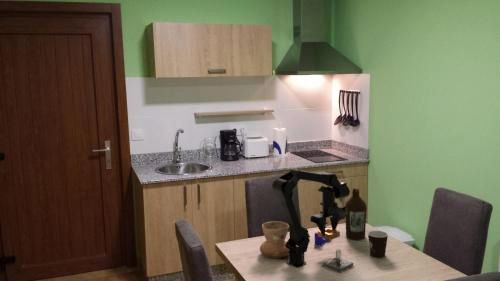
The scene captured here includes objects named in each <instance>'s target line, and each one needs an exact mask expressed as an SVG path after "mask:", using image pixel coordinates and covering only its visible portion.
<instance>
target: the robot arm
mask: <svg viewBox="0 0 500 281" xmlns="http://www.w3.org/2000/svg"><path fill="white" fill-rule="evenodd" d="M300 180H302V181H309V182H316V183H318V184H321V186H320V187H319V188H318V189H317V191H318V192H319V193H321V202H319V204H320V205H321V210H320V214H318V213H316V214H312V215H311V216H310V218H309V220H310V222H311V223H314V224H316V226H317V228H318V231H320V232H321V234H322V236H325V226H327V224H328V222H327V219H330V225H331V226H330V227H331V229H334V230H337V228H338V224H339V222H340V221H343V220H345V216H346V215H348V208H347V207H345V206H342V207H341V206H340V207H339V205H338V202H336V200H337V199H344V198H347V197H349V196H350V194H351V191H350V188H349V186H348V185H347V182H344V181H343V182H340V181H339V179H338V176H337V175H336V174H335V173H331V172H327V171H319V172H313V171H305V170H300V169H296V168H292V169H290V170H289V171H288V172H286V173H284V174H283V175H281V176H279V177H278V178H276V179H275V180H274V181H273V183H272V185H271V187H272V190H273V192H274V194H275V195H276V196H277V198H278V199H279V200H280V202H281V206H282V207H283V211H284V214H285V216H286V219H287V224H288V225H289V232H288V235H289V238H288V240H287V241H286V244H285V246H286V248H287V249H290V251H289V255H288V261H286V262H285V263H286V264H287V265H289V266H292V267H294V268H300V267H302V266H305V265H307V263H308V262H307V261H305V253H306V252H308V248H309V244H310V242H311V240H310V238H311V236H310V234H309V230H308V228H305V227H303V226H302V224H301V221H300V219H299V215H298V212H297V210H296V206H295V204H294V203H295V202H294V200H293V196H294V189H295V187H297V185H298V183H299V181H300ZM323 185H324V186H323Z"/></svg>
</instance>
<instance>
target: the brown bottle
mask: <svg viewBox="0 0 500 281" xmlns="http://www.w3.org/2000/svg"><path fill="white" fill-rule="evenodd" d="M351 192H352V193H351V194H352V195H351V197H350V198H348V200H347V201H346V202H345V206H344V207H347V208H348V215H346V216H345V219H344V220H345V221H344V222H345V238H347V239H348V240H353V241H362V240H364V239H365V238H366V230H367V229H366V227H367V226H366V225H367V224H366V223H367V212H368V211H367V209H368V208H367V204H366V202H365V201H364V200H363V199H362V197H361V196H360V188H359V187H352V191H351Z"/></svg>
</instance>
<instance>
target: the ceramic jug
mask: <svg viewBox="0 0 500 281" xmlns="http://www.w3.org/2000/svg"><path fill="white" fill-rule="evenodd" d="M261 227H262V232H263V236H264V238H265V241H264V242H262V243H261V245H260V246H259V251H260V253H261V254H262V255H263V256H265V258H266V257H267V258H269V259H270V258H271V259H282V258H285V257H286V256H289V251H290V249H287V248H286V246H285V244H286V242H287V241H286V238H287V235H288V234H289V230H290V226H289V223H288V222H283V221H277V220H272V221H267V222H264V223H262V225H261Z"/></svg>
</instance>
